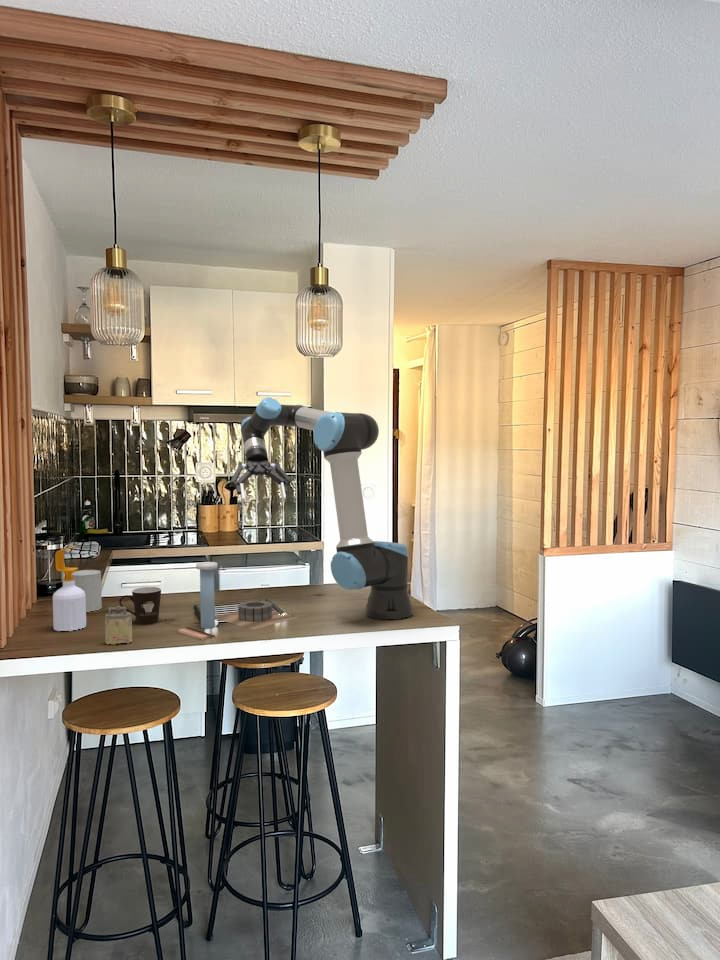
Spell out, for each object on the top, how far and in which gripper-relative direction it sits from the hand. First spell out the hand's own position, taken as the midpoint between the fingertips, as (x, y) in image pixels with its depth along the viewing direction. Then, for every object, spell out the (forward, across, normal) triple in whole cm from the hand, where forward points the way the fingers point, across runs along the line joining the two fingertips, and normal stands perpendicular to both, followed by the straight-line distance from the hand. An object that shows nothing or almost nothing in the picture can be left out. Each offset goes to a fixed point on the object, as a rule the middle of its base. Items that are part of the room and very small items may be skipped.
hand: (263, 500), depth 231 cm
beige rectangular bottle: (+45, +45, -6) cm, 64 cm away
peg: (+41, +21, -8) cm, 47 cm away
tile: (+42, +21, -9) cm, 48 cm away
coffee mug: (+30, +39, -21) cm, 53 cm away
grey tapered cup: (+14, +56, -37) cm, 69 cm away
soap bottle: (+30, +60, -21) cm, 70 cm away
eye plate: (+37, +6, -13) cm, 40 cm away
